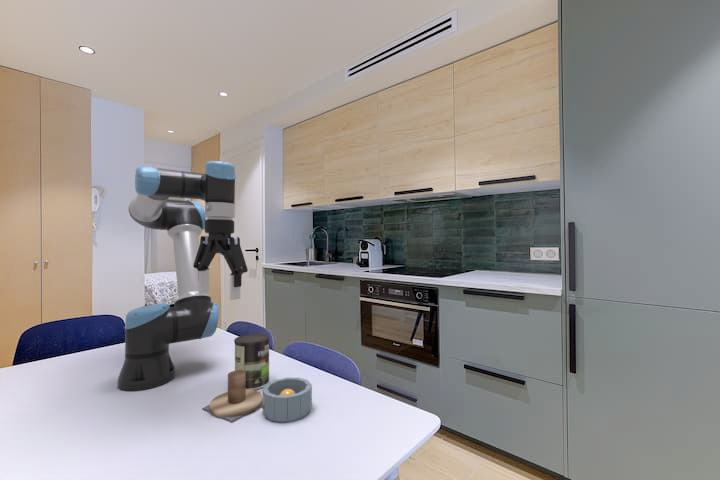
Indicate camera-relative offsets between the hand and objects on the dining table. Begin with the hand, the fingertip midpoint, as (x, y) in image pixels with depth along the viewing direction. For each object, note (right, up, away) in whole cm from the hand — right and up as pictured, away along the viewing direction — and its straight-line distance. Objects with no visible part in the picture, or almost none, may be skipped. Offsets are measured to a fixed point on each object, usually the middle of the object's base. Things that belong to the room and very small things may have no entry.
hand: (218, 296), depth 91 cm
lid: (+6, -28, -3) cm, 29 cm away
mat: (+6, -28, -3) cm, 29 cm away
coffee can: (+6, -29, +11) cm, 31 cm away
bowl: (+20, -28, -6) cm, 35 cm away
